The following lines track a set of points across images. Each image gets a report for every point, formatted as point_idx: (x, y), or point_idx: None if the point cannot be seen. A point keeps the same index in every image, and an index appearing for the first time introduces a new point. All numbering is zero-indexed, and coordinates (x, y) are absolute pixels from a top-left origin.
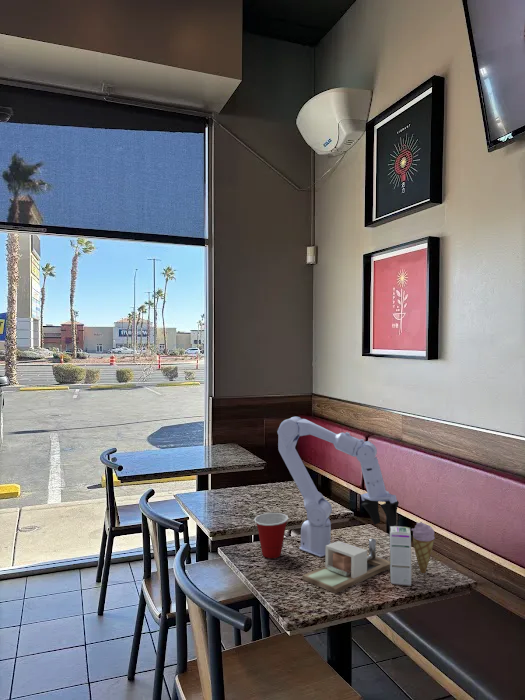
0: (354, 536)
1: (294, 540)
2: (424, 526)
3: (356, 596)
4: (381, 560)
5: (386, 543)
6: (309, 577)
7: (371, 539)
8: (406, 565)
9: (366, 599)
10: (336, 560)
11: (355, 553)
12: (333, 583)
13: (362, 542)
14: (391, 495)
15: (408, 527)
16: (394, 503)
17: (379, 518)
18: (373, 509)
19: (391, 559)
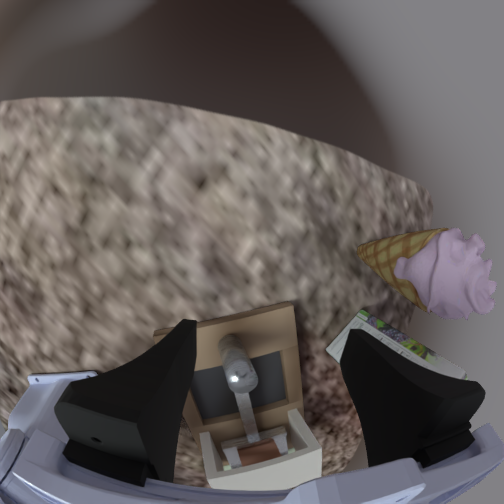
0: (11, 214)
1: (5, 392)
2: (489, 296)
3: (334, 444)
4: (259, 327)
5: (113, 151)
6: None
7: (241, 385)
8: None
9: (351, 434)
10: None
11: (314, 472)
12: None
13: (59, 231)
14: (477, 470)
15: (464, 377)
16: (460, 426)
17: (191, 332)
18: (173, 414)
19: None
